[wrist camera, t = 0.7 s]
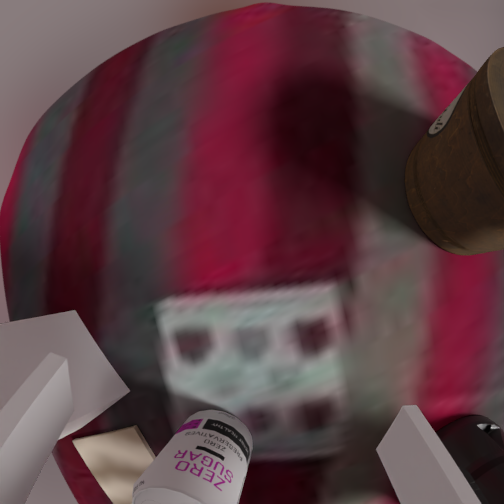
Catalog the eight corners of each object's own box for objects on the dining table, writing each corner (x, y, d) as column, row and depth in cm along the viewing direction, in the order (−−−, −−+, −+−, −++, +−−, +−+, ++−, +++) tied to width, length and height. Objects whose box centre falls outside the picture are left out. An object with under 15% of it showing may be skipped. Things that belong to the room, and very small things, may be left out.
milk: (34, 355, 34) (-118, 386, 9) (75, 309, 34) (-115, 322, 8) (81, 427, 33) (-59, 506, 7) (130, 391, 32) (-44, 491, 7)
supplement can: (188, 464, 31) (139, 541, 16) (178, 405, 32) (112, 472, 17) (256, 467, 30) (235, 556, 15) (250, 406, 31) (221, 487, 16)
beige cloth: (187, 502, 30) (185, 506, 29) (121, 508, 31) (119, 511, 30) (136, 424, 32) (133, 427, 31) (75, 438, 33) (72, 440, 32)
